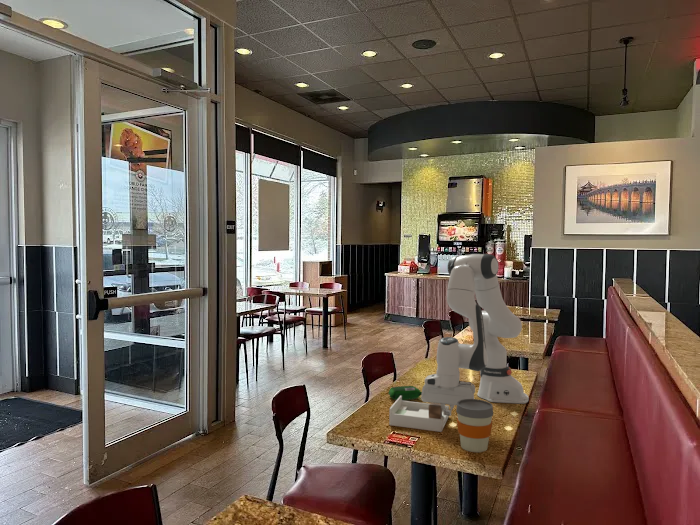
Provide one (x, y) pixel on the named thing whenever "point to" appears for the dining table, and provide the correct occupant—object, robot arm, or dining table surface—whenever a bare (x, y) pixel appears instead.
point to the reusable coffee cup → (474, 424)
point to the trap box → (415, 416)
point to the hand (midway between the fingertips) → (447, 415)
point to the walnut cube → (435, 411)
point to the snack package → (404, 392)
